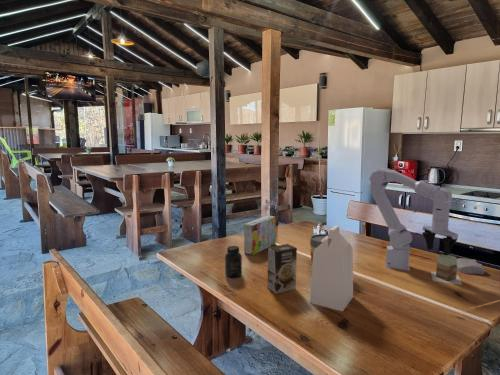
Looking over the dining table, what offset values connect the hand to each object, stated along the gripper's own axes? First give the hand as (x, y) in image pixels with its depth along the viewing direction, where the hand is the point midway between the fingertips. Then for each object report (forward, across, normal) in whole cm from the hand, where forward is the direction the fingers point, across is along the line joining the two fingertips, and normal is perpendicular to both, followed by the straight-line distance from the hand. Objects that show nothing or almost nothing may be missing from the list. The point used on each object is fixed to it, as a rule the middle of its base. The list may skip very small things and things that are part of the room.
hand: (438, 252), depth 141 cm
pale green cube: (+4, -3, -1) cm, 5 cm away
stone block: (+11, 0, -18) cm, 21 cm away
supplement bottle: (+10, +33, +76) cm, 83 cm away
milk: (+10, 0, +51) cm, 52 cm away
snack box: (+10, +60, +52) cm, 80 cm away
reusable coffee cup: (+10, +21, +40) cm, 46 cm away
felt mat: (+10, -3, -1) cm, 11 cm away
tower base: (+10, -3, -1) cm, 10 cm away
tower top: (+7, -3, -1) cm, 8 cm away
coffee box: (+10, +14, +63) cm, 66 cm away
